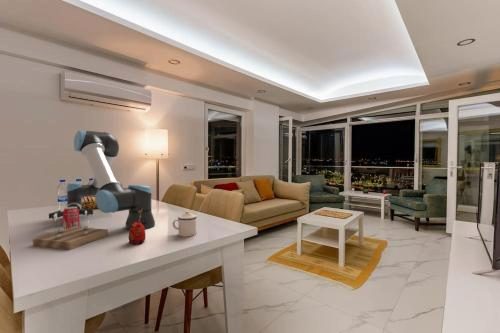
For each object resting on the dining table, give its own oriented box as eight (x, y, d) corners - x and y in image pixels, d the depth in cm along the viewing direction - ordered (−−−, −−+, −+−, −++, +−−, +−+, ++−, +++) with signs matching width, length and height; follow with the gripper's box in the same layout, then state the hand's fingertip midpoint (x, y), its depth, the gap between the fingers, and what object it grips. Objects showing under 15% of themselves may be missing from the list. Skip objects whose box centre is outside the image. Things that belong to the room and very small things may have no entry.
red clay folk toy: (125, 242, 114) (125, 209, 114) (139, 238, 120) (139, 207, 119) (134, 246, 110) (134, 211, 109) (149, 241, 116) (149, 209, 115)
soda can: (68, 228, 138) (68, 206, 137) (82, 228, 138) (81, 206, 138) (59, 232, 131) (59, 208, 130) (74, 231, 131) (73, 208, 131)
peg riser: (107, 235, 125) (107, 226, 125) (70, 249, 105) (70, 238, 105) (74, 232, 129) (74, 223, 129) (33, 245, 110) (32, 235, 110)
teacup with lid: (198, 231, 131) (198, 209, 131) (193, 237, 122) (193, 213, 122) (176, 231, 132) (176, 209, 132) (169, 236, 123) (169, 212, 123)
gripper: (97, 213, 160) (98, 220, 142) (47, 218, 147) (40, 226, 129) (97, 201, 160) (97, 207, 142) (47, 205, 147) (40, 212, 129)
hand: (70, 216), depth 135 cm, fingers open, 13 cm apart
